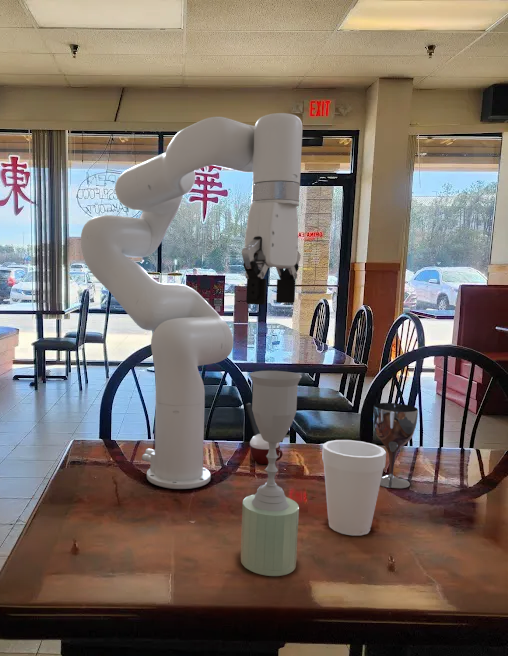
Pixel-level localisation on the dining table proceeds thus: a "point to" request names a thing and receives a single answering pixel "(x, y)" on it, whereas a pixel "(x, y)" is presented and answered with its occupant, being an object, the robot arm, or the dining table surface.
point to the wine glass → (394, 434)
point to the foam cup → (352, 484)
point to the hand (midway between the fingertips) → (271, 303)
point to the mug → (269, 538)
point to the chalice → (273, 426)
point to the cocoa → (259, 442)
